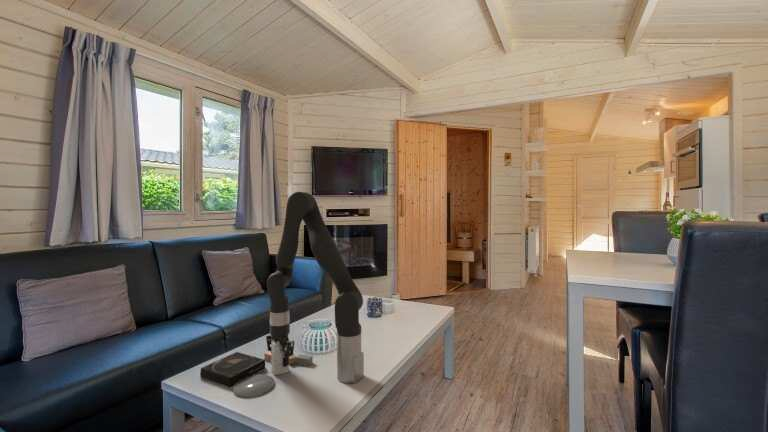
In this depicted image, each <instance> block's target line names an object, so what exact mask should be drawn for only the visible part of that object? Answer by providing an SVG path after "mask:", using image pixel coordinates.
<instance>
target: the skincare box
mask: <svg viewBox="0 0 768 432" xmlns="http://www.w3.org/2000/svg"><path fill="white" fill-rule="evenodd" d="M270 347H271V362H270V365H271V367H270V369H271V373H272V374H273V375H274V376H278V375H281V374H286V373H289V372H290V366H289V364H288V366H286V367H284V366H283V355H282V352H280V348H279V345H278V343H277V342H275V343H274V342H272V341H271V344H270ZM285 348H287V345H286V347H284V348H283V349H285ZM285 354H286V351H285Z"/></svg>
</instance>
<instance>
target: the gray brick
mask: <svg viewBox="0 0 768 432" xmlns="http://www.w3.org/2000/svg"><path fill="white" fill-rule="evenodd" d="M313 359H314V357H313V355H305V354H298V355H297V356H296V364H295V365H298V364H299V366H300V365H301V366H305V365H306V367H310V366H311V365H312V364H313Z"/></svg>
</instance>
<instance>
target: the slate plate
mask: <svg viewBox="0 0 768 432" xmlns="http://www.w3.org/2000/svg"><path fill="white" fill-rule="evenodd" d="M274 386H275V378H274V377H273V376H271V375H268V374H254V375H252V376H248V377H245V378H243V379H241V380H239V381H237V382H236V383H235V384H234V386H233V387H232V392H233V394H234V395H235V396H237V397H239V398H240V397H241V398H253V397H259V396H262V395H264V394H266V393H268V392H270V391H271V390H272V389H273V388H274Z"/></svg>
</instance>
